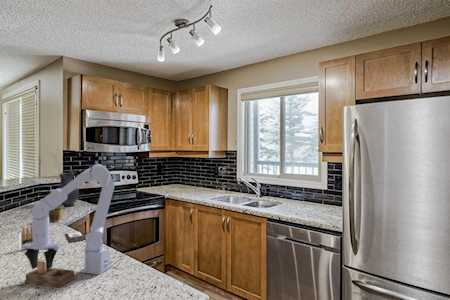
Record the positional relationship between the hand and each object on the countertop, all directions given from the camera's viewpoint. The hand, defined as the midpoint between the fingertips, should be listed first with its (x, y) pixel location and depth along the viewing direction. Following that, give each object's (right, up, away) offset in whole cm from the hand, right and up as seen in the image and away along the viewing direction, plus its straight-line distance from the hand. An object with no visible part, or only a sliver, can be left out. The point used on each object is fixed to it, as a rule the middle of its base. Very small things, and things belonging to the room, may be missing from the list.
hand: (41, 267), depth 116 cm
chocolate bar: (-13, -4, +53) cm, 54 cm away
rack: (+4, -4, -1) cm, 6 cm away
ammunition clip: (-26, -4, +35) cm, 44 cm away
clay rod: (0, -3, 0) cm, 3 cm away
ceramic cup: (-46, -3, +88) cm, 100 cm away
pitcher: (-63, -2, +141) cm, 154 cm away
